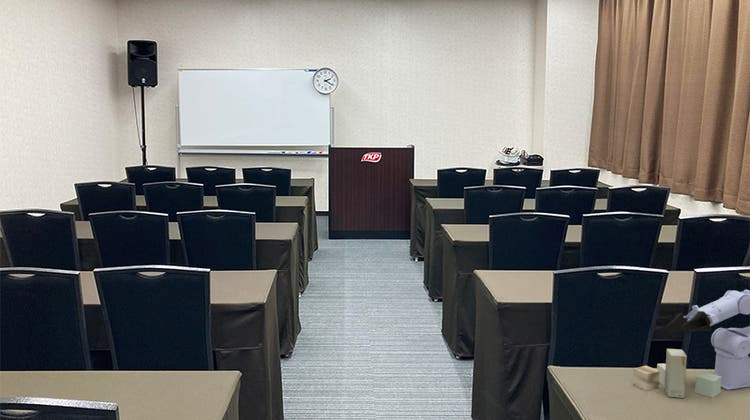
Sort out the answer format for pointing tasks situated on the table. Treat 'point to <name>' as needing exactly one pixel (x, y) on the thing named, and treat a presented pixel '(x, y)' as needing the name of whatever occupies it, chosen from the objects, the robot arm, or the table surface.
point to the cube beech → (646, 377)
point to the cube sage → (708, 384)
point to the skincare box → (675, 373)
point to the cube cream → (661, 373)
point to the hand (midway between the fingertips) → (674, 330)
